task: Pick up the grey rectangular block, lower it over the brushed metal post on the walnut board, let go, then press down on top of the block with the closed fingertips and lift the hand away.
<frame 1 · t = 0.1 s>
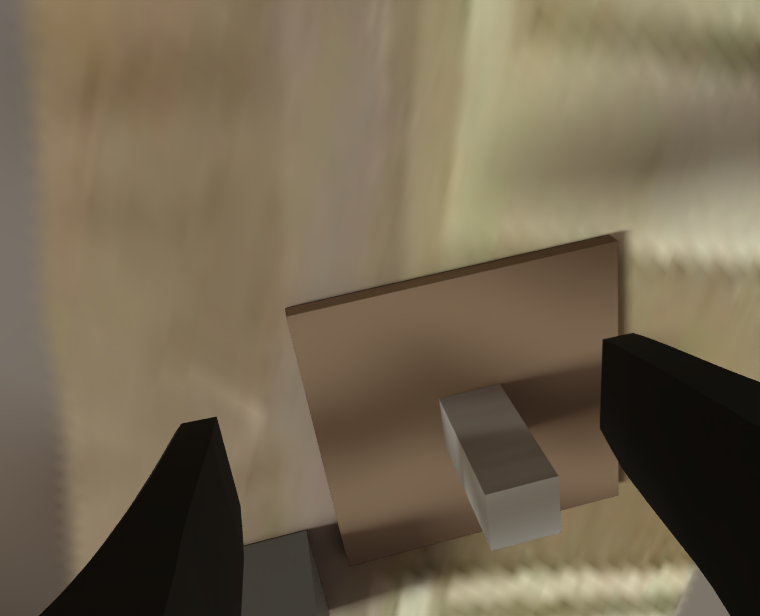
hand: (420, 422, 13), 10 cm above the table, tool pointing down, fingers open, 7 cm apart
post board: (467, 407, 25), on the table
grey rectangular block: (261, 587, 27), on the table
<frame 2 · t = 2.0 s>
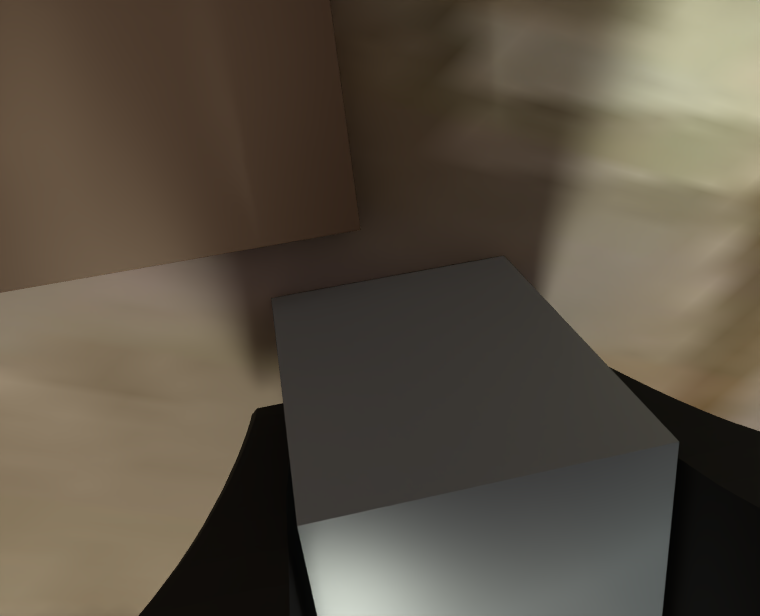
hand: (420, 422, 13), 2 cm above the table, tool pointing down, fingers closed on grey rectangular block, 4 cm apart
grey rectangular block: (401, 376, 14), on the table, touching gripper
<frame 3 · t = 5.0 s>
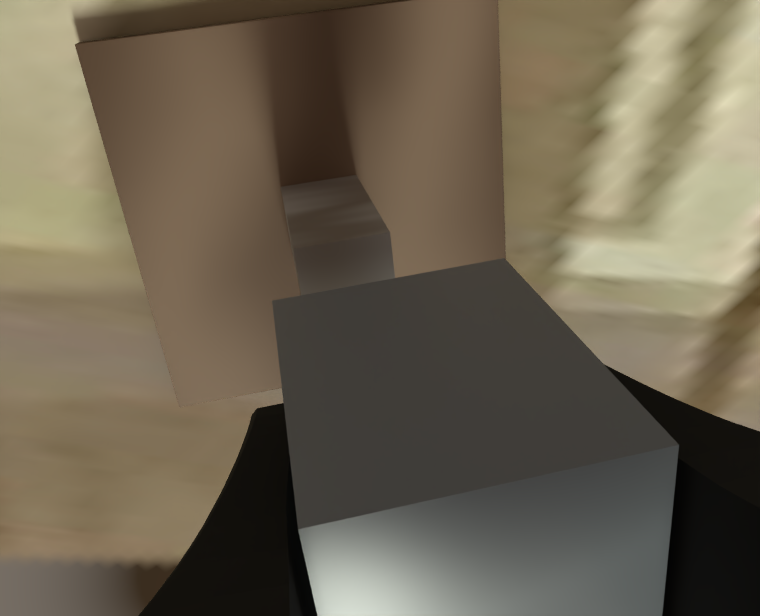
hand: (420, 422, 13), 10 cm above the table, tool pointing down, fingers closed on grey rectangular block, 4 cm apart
post board: (322, 210, 21), on the table
grey rectangular block: (402, 378, 14), point 8 cm above the table, touching gripper
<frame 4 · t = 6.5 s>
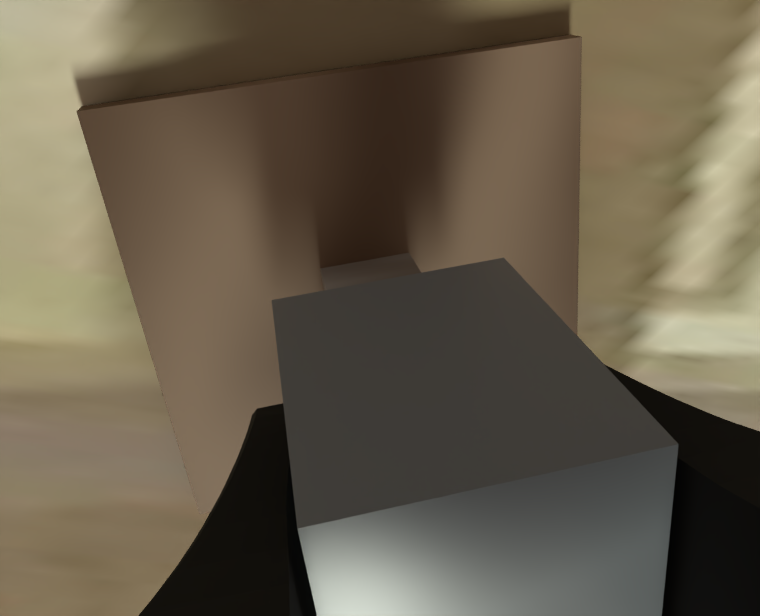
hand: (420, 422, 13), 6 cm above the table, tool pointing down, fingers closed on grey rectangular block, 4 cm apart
post board: (366, 291, 18), on the table
grey rectangular block: (401, 378, 14), point 4 cm above the table, touching gripper
when the fingers open (3 cm above the table, at t = 7.9 s): grey rectangular block stays where it is, resting on post board.
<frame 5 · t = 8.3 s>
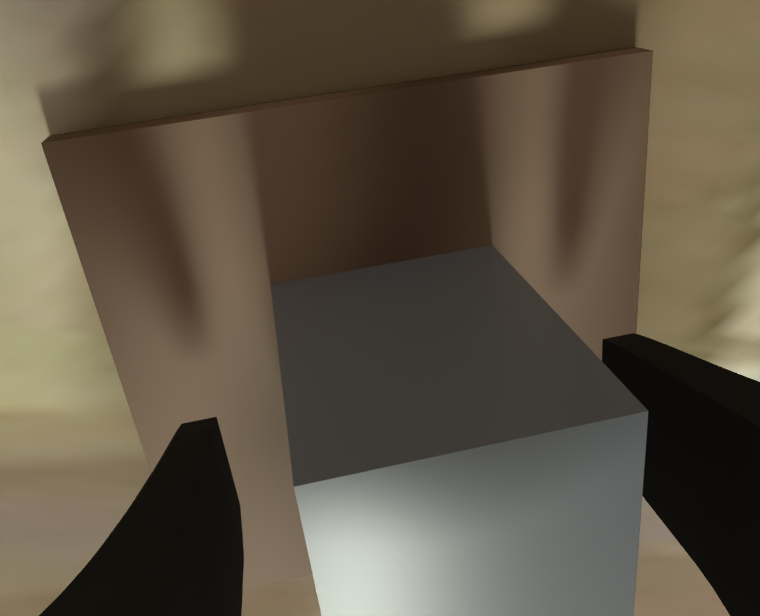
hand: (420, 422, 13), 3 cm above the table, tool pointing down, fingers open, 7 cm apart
post board: (389, 346, 15), on the table
grey rectangular block: (395, 361, 15), point 1 cm above the table, touching post board
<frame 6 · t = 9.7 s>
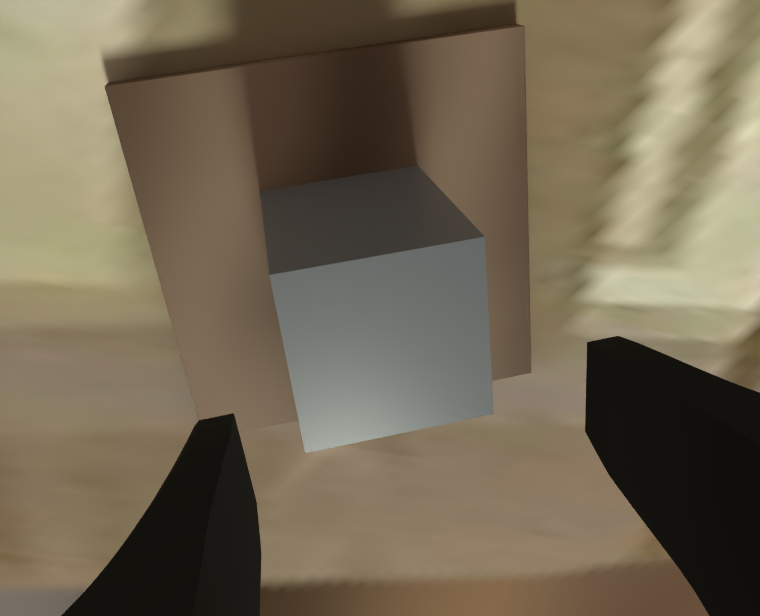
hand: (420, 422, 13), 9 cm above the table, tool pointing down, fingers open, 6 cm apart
post board: (347, 244, 21), on the table
grey rectangular block: (350, 252, 21), point 1 cm above the table, touching post board
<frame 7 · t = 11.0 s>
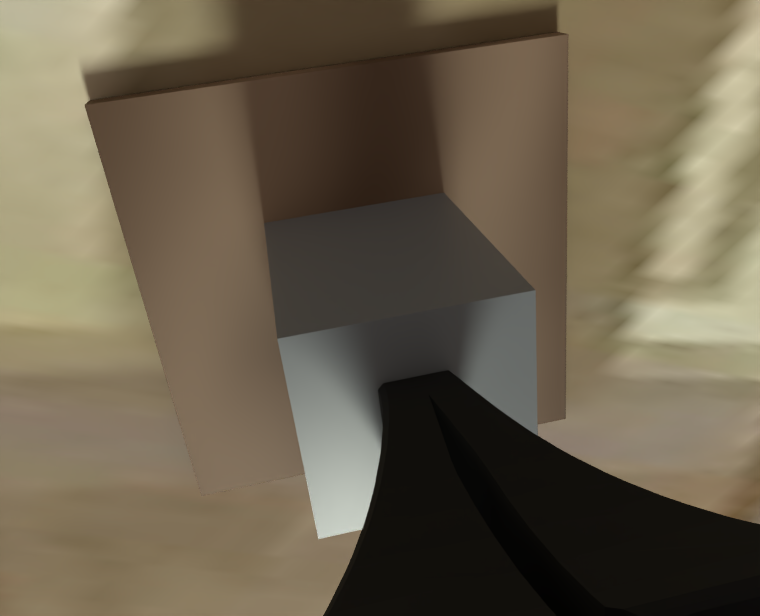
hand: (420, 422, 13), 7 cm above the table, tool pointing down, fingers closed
post board: (362, 279, 19), on the table
grey rectangular block: (366, 289, 18), point 1 cm above the table, touching post board
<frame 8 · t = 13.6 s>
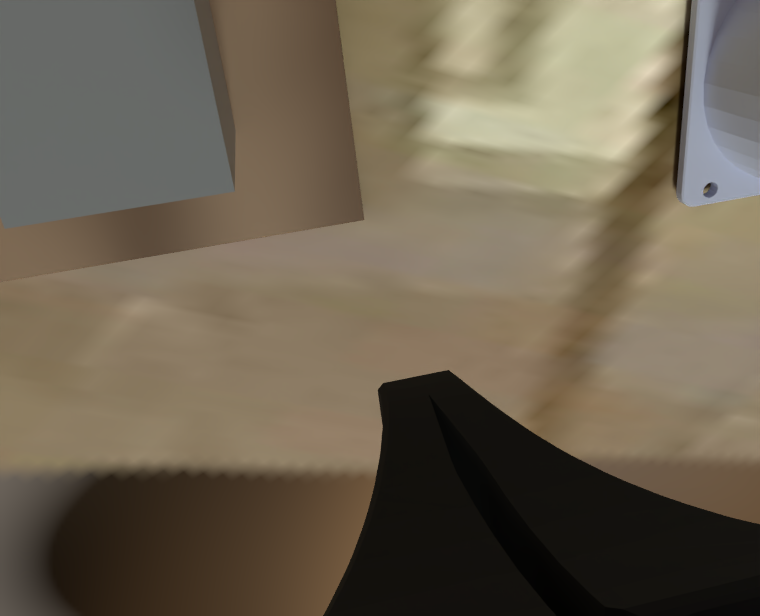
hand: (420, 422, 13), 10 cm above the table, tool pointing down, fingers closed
post board: (133, 53, 19), on the table
grey rectangular block: (131, 57, 18), point 1 cm above the table, touching post board
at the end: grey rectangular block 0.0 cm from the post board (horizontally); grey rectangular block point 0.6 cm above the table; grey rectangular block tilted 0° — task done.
